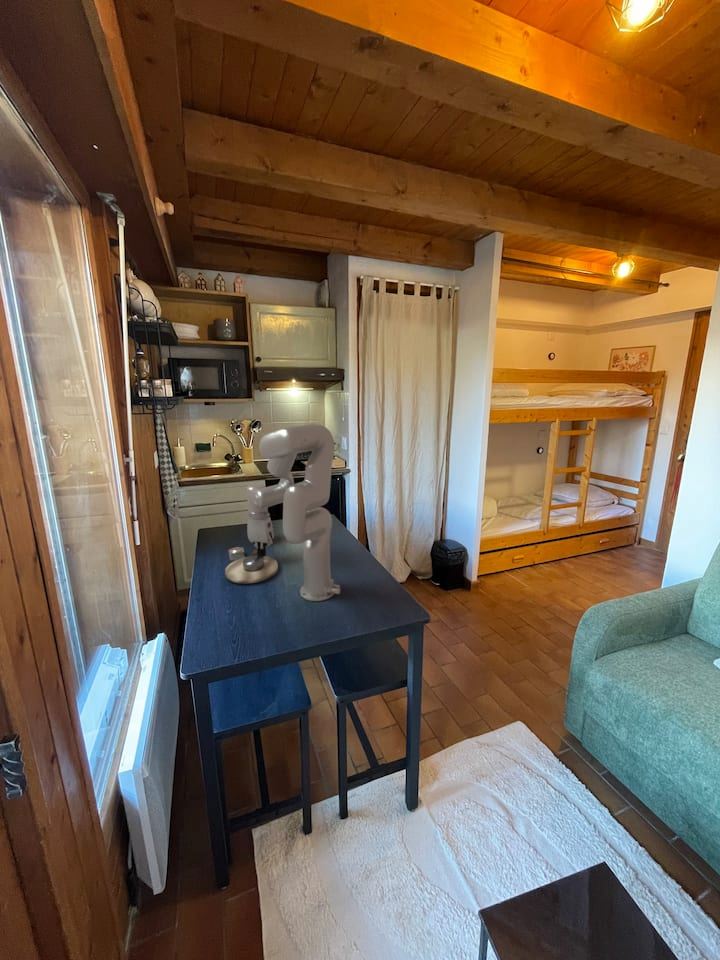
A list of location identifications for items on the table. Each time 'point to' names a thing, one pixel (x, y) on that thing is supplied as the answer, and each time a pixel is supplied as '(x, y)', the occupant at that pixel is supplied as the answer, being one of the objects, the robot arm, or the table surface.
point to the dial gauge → (236, 553)
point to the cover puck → (253, 563)
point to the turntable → (241, 576)
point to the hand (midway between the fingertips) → (262, 556)
